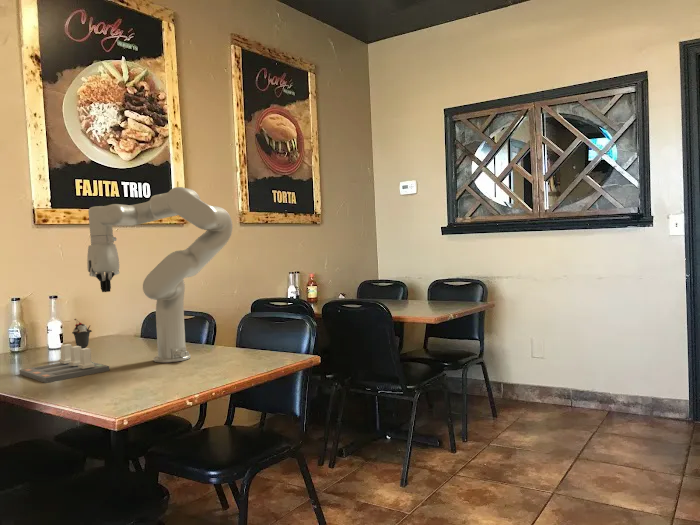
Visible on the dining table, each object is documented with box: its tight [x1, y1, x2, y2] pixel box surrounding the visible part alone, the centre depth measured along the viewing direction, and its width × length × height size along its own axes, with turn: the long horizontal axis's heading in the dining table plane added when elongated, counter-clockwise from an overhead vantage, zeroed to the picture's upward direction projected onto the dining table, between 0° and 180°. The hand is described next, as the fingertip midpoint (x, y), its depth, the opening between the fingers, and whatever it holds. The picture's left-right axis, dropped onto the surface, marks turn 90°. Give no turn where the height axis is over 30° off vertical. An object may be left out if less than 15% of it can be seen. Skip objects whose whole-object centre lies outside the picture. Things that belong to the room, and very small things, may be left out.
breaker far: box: [58, 343, 73, 364], centre depth 201 cm, size 4×4×6 cm
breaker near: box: [78, 347, 94, 369], centre depth 191 cm, size 4×4×6 cm
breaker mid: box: [69, 345, 81, 366], centre depth 196 cm, size 4×4×6 cm
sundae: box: [71, 318, 93, 349], centre depth 218 cm, size 7×7×15 cm
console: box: [19, 361, 110, 384], centre depth 193 cm, size 22×20×2 cm
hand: (106, 291), depth 211 cm, fingers closed
